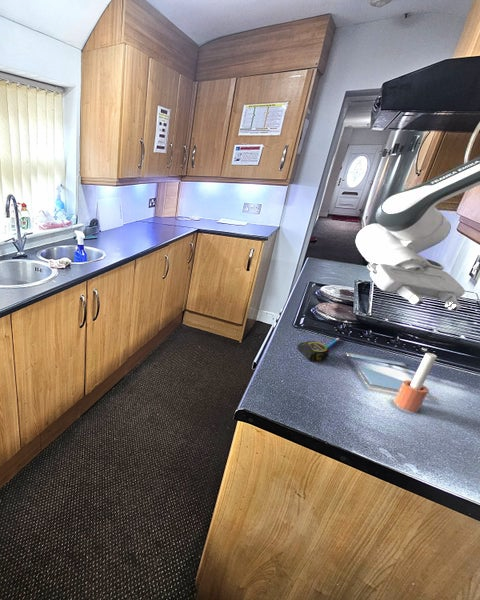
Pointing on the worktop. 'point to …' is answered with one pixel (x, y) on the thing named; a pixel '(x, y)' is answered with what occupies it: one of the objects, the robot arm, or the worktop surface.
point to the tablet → (381, 376)
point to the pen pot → (410, 397)
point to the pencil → (333, 342)
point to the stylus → (423, 371)
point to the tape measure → (313, 350)
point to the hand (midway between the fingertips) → (437, 305)
